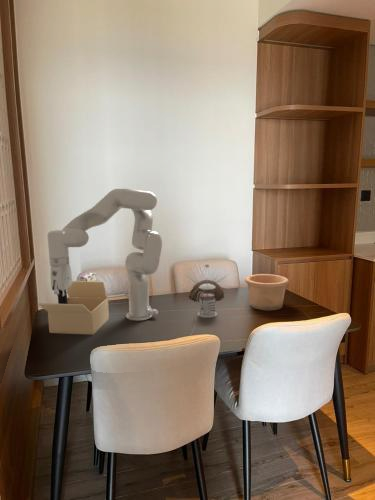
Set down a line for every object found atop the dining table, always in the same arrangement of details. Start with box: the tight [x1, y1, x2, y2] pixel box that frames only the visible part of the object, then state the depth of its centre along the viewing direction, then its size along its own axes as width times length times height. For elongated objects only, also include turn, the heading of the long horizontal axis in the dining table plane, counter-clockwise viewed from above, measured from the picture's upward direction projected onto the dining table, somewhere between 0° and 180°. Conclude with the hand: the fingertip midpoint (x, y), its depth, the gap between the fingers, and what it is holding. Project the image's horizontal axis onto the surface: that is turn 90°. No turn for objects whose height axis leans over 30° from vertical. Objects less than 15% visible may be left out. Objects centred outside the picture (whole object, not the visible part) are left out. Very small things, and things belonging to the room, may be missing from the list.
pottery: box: [244, 273, 290, 311], centre depth 198 cm, size 22×22×14 cm
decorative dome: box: [189, 279, 225, 302], centre depth 215 cm, size 19×20×10 cm
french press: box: [196, 264, 218, 318], centre depth 184 cm, size 10×12×25 cm
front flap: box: [37, 302, 91, 313], centre depth 158 cm, size 19×10×1 cm
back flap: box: [67, 280, 108, 298], centre depth 180 cm, size 19×10×1 cm
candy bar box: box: [78, 272, 97, 282], centre depth 203 cm, size 11×5×16 cm, turn 168°
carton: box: [47, 296, 110, 335], centre depth 173 cm, size 20×20×10 cm
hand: (63, 304), depth 156 cm, fingers closed
